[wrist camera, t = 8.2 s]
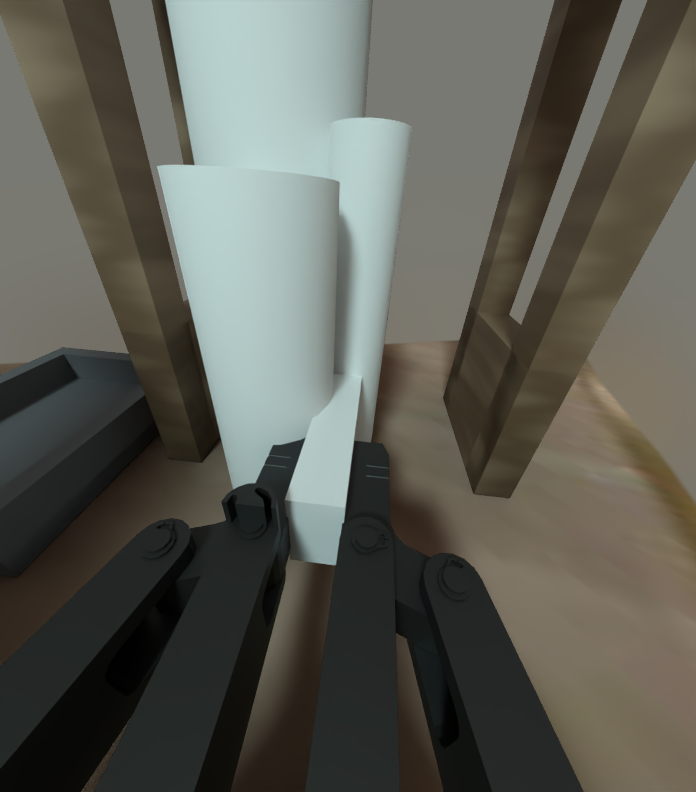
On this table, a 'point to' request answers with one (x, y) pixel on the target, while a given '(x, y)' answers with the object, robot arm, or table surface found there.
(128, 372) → the dark gray tray
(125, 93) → the wooden stool
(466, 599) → the robot arm
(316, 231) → the vase
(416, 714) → the table surface
